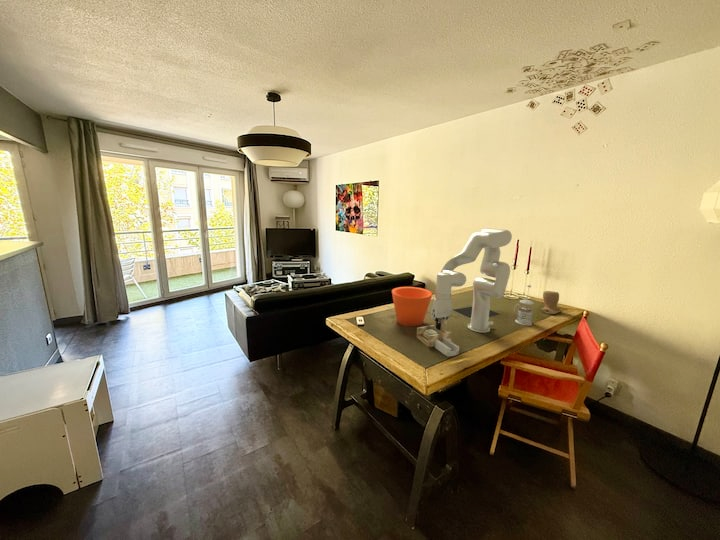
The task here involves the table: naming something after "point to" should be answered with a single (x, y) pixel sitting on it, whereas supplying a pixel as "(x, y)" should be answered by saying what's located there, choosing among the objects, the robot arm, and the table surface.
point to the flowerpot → (411, 305)
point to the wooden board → (443, 326)
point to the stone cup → (550, 302)
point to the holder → (447, 347)
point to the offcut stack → (428, 333)
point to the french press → (527, 310)
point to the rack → (432, 337)
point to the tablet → (468, 312)
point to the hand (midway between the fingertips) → (440, 328)
